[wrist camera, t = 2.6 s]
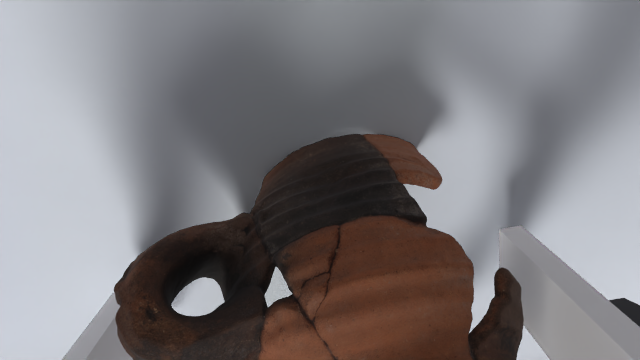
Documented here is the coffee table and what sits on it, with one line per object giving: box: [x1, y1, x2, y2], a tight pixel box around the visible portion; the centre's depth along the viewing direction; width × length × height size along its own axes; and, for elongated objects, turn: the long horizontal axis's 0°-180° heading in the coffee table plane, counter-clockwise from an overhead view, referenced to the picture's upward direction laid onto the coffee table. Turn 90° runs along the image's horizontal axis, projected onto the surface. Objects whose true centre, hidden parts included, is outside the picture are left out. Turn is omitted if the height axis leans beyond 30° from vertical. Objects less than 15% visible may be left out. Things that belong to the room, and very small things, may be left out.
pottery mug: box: [114, 134, 524, 360], centre depth 13 cm, size 12×10×8 cm
